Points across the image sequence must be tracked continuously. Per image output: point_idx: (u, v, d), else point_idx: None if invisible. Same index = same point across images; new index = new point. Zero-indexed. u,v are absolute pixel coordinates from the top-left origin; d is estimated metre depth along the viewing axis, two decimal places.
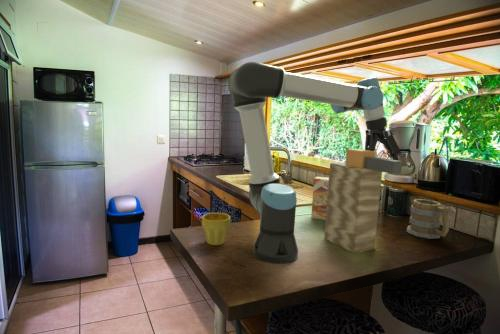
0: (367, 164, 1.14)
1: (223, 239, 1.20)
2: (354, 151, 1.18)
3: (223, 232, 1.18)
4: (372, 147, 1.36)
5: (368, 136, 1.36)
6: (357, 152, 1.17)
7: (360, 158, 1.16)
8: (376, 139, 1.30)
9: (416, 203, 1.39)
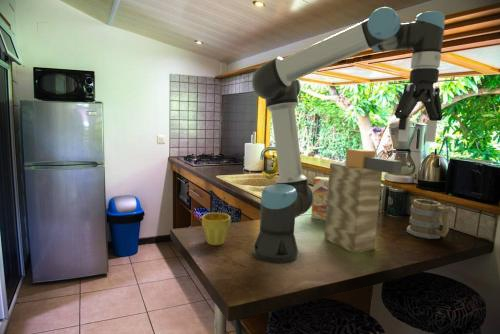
0: (367, 164, 1.14)
1: (223, 239, 1.20)
2: (354, 151, 1.18)
3: (223, 232, 1.18)
4: (429, 113, 1.02)
5: None
6: (357, 152, 1.17)
7: (360, 158, 1.16)
8: None
9: (416, 203, 1.39)
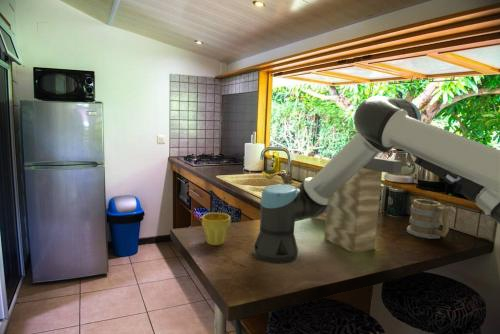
0: (367, 164, 1.14)
1: (223, 239, 1.20)
2: None
3: (223, 232, 1.18)
4: None
5: None
6: None
7: None
8: None
9: (416, 203, 1.39)
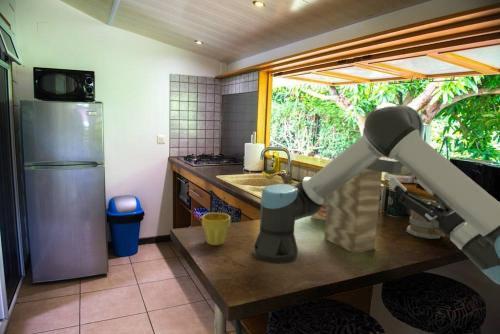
0: None
1: (223, 239, 1.20)
2: None
3: (222, 232, 1.18)
4: (438, 195, 1.01)
5: None
6: None
7: None
8: (439, 204, 0.95)
9: None
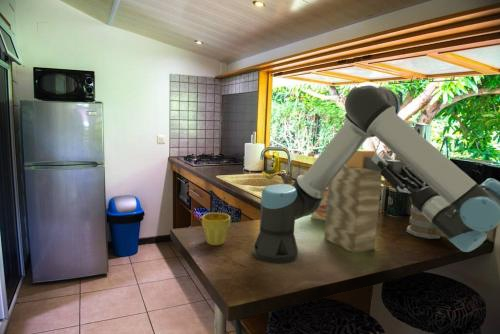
0: (367, 164, 1.14)
1: (223, 239, 1.20)
2: None
3: (223, 232, 1.18)
4: (403, 173, 1.07)
5: (420, 181, 1.04)
6: (357, 152, 1.17)
7: (360, 158, 1.16)
8: (413, 182, 1.02)
9: None
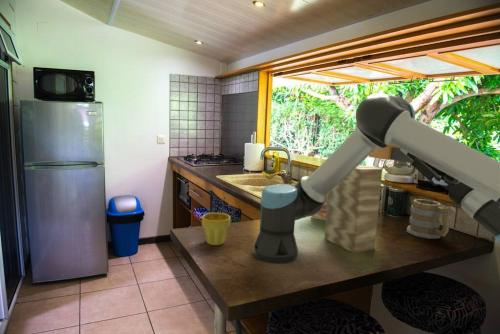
0: (394, 155, 1.05)
1: (223, 239, 1.20)
2: None
3: (223, 232, 1.18)
4: None
5: None
6: None
7: (386, 148, 1.06)
8: None
9: (416, 203, 1.39)
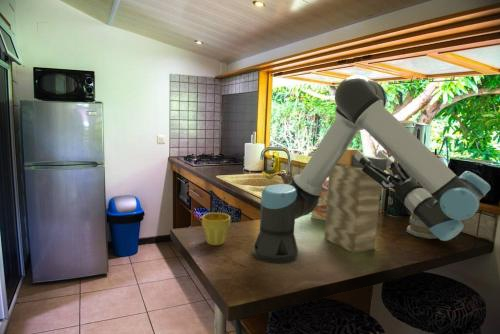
0: (354, 162, 1.20)
1: (223, 239, 1.20)
2: None
3: (223, 232, 1.18)
4: (394, 168, 1.12)
5: (407, 176, 1.09)
6: None
7: (347, 156, 1.21)
8: (396, 176, 1.07)
9: None
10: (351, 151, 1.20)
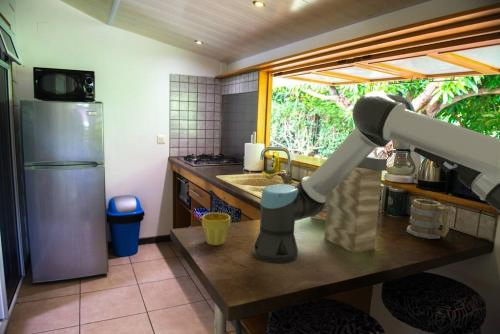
0: None
1: (223, 239, 1.20)
2: None
3: (223, 232, 1.18)
4: None
5: None
6: None
7: None
8: None
9: (416, 203, 1.39)
10: None
